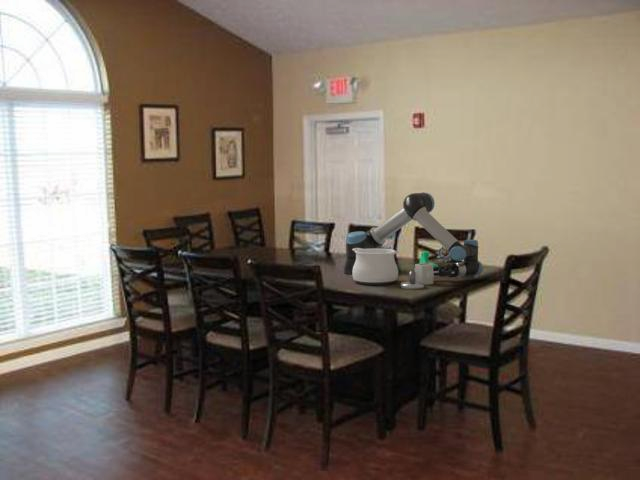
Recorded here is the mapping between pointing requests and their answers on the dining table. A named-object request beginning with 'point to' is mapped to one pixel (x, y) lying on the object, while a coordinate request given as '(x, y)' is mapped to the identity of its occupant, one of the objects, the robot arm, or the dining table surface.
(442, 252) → the passion flower
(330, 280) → the dining table surface
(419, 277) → the box with orange strip
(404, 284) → the hub plate
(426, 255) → the camera mount
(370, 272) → the pot
